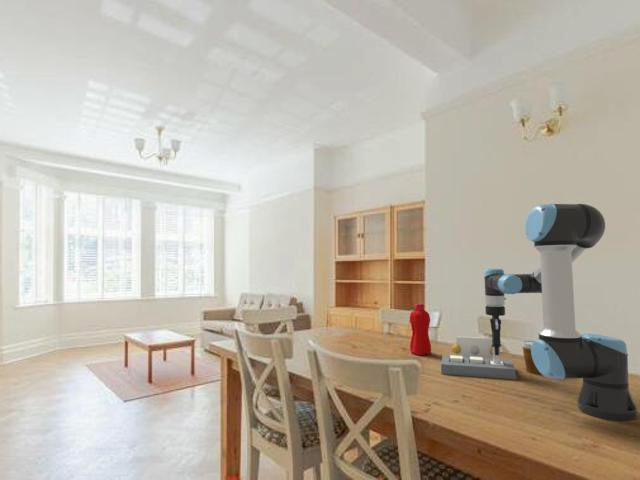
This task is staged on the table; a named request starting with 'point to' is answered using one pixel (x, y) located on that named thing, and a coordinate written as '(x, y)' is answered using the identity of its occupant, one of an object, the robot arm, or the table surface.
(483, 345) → the pattern sign
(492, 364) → the button right
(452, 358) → the button left
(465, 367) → the button board
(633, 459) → the table surface
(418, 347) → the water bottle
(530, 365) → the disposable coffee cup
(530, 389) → the table surface
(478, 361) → the button middle
